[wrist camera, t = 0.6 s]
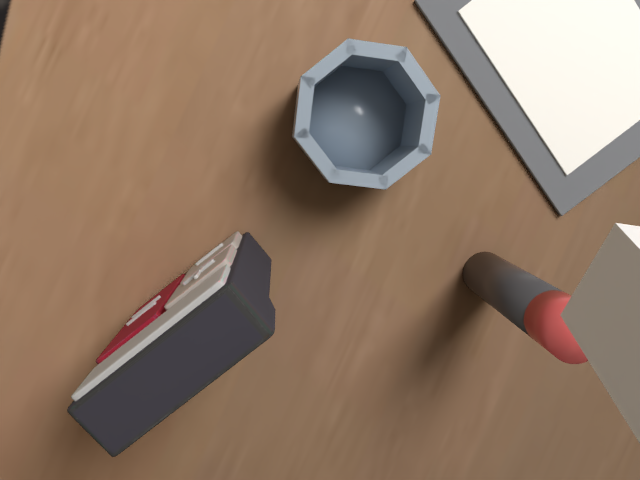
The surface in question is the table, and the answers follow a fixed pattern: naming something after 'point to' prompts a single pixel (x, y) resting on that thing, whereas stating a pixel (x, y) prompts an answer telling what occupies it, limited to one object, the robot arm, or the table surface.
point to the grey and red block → (178, 344)
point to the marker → (524, 303)
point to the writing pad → (553, 82)
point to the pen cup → (365, 114)
